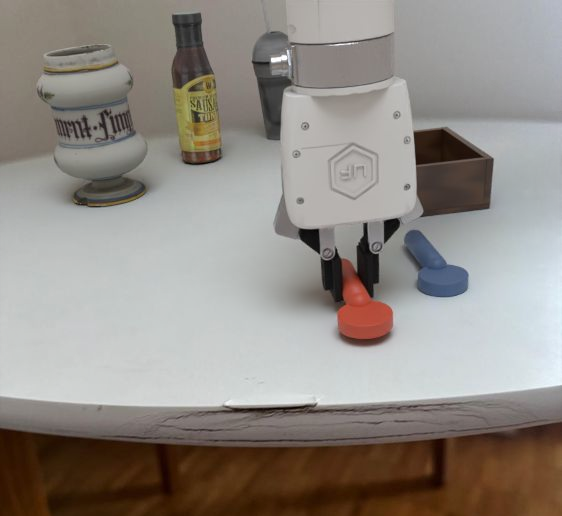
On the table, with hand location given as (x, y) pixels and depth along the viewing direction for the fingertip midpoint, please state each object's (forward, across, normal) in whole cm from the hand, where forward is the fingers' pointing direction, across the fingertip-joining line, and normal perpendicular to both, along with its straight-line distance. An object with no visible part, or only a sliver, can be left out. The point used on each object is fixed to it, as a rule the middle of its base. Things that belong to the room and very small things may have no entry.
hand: (350, 292), depth 60 cm
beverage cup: (+2, +2, +63) cm, 63 cm away
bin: (+1, +14, +27) cm, 30 cm away
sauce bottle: (+1, -11, +54) cm, 55 cm away
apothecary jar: (+1, -24, +41) cm, 48 cm away
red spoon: (0, 0, -2) cm, 2 cm away
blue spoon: (+1, +9, +5) cm, 10 cm away
